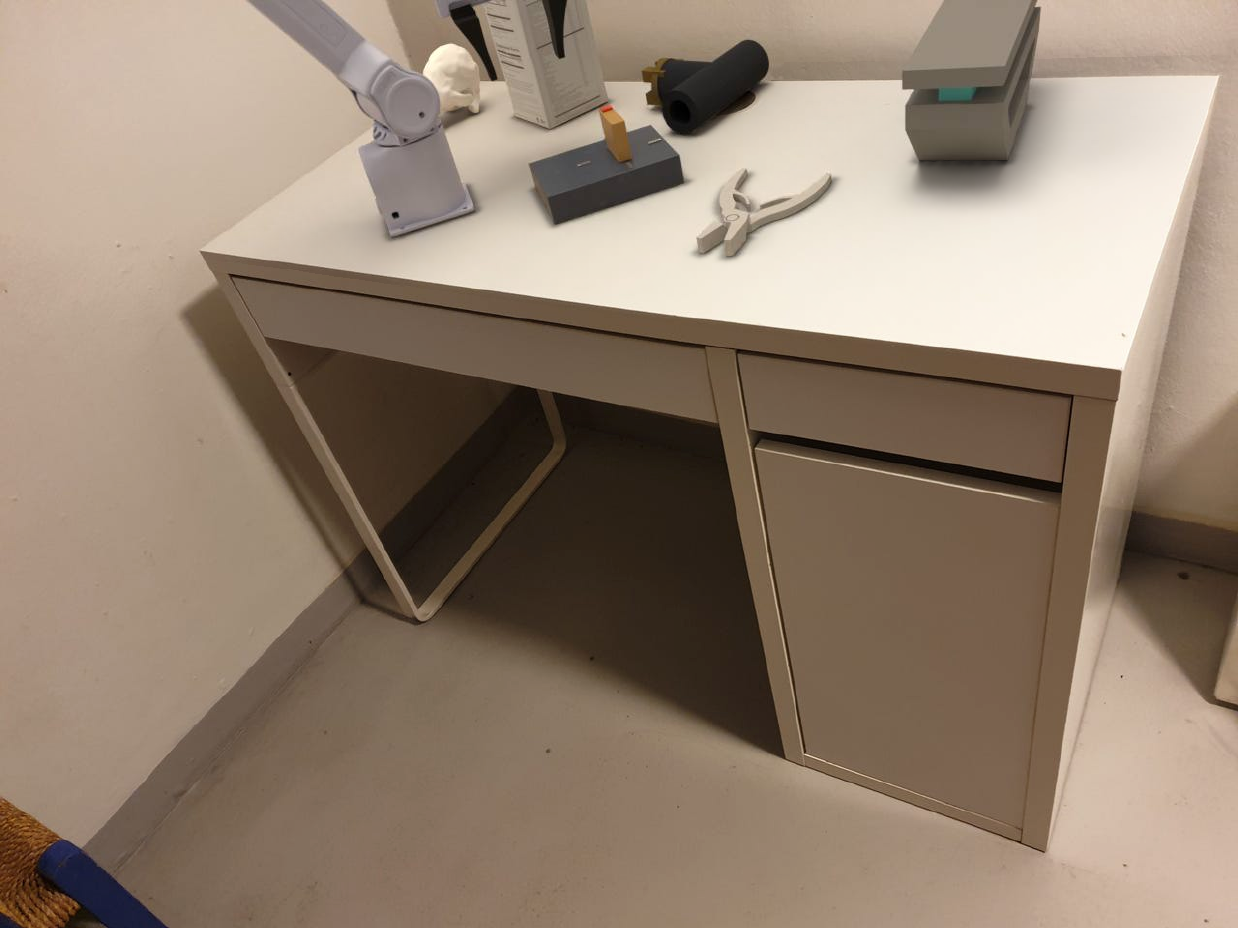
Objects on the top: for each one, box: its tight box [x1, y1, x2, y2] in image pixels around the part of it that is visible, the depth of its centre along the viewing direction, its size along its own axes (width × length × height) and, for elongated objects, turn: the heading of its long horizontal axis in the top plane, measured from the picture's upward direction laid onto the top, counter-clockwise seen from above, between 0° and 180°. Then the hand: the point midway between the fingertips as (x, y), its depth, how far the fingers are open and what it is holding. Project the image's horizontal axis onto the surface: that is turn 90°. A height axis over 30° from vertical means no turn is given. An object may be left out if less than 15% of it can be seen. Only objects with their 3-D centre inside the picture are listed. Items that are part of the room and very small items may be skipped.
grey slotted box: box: [901, 0, 1042, 161], centre depth 84 cm, size 25×8×11 cm, turn 154°
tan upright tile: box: [598, 104, 632, 162], centre depth 92 cm, size 5×1×4 cm, turn 15°
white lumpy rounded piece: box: [422, 43, 481, 116], centre depth 119 cm, size 6×8×12 cm
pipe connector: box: [641, 39, 770, 136], centre depth 106 cm, size 12×5×15 cm
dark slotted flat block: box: [528, 124, 685, 225], centre depth 95 cm, size 14×10×3 cm
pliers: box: [696, 167, 832, 257], centre depth 84 cm, size 10×2×15 cm
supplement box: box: [482, 0, 609, 130], centre depth 111 cm, size 10×9×17 cm
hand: (526, 67), depth 98 cm, fingers open, 7 cm apart
